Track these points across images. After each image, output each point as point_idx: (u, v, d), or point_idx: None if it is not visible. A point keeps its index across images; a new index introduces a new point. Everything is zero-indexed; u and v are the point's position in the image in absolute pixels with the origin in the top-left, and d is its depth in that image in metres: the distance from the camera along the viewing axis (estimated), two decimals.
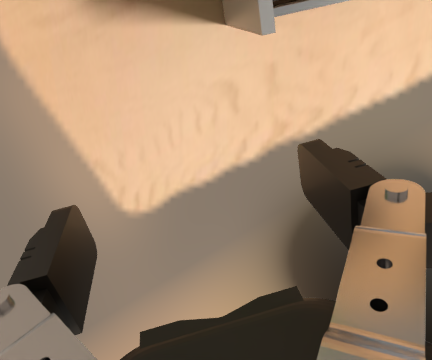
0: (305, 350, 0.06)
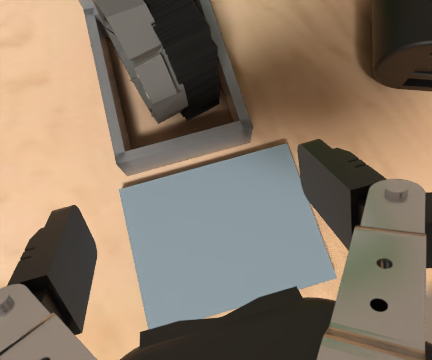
0: (305, 350, 0.06)
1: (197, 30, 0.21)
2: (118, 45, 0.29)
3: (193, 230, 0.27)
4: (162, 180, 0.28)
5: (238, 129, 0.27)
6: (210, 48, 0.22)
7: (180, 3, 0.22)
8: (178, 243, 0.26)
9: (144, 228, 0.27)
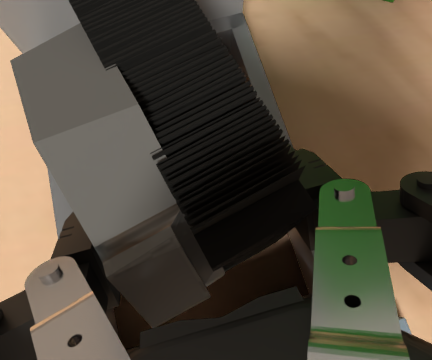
0: (305, 350, 0.06)
1: (273, 176, 0.08)
2: None
3: None
4: None
5: None
6: (299, 212, 0.09)
7: (226, 98, 0.09)
8: None
9: None
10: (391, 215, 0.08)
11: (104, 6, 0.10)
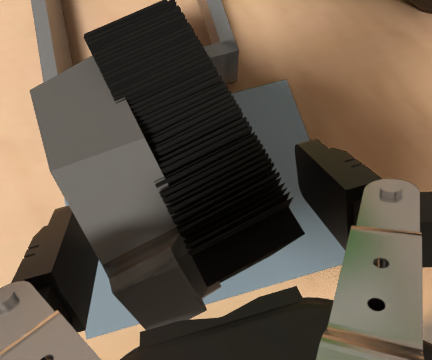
0: (305, 350, 0.06)
1: (263, 206, 0.09)
2: None
3: None
4: None
5: (218, 53, 0.19)
6: (288, 237, 0.10)
7: (223, 132, 0.10)
8: None
9: None
10: None
11: (116, 43, 0.11)
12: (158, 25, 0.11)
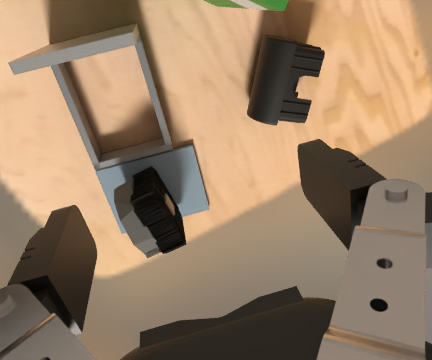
0: (305, 350, 0.06)
1: (177, 245, 0.45)
2: None
3: None
4: (120, 167, 0.49)
5: (164, 150, 0.47)
6: (182, 245, 0.46)
7: (169, 232, 0.44)
8: None
9: (113, 191, 0.51)
10: None
11: (142, 213, 0.42)
12: (153, 208, 0.42)
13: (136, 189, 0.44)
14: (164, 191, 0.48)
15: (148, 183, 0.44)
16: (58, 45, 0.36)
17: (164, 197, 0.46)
